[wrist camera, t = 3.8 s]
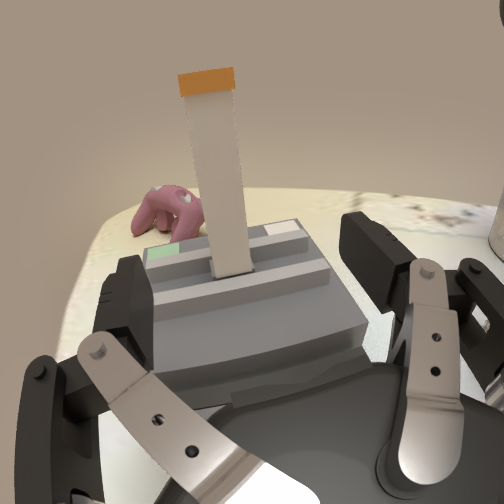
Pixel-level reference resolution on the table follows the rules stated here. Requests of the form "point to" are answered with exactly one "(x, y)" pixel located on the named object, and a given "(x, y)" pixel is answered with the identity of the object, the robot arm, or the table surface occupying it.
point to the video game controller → (170, 212)
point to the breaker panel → (247, 309)
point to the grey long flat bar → (259, 383)
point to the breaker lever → (218, 168)
